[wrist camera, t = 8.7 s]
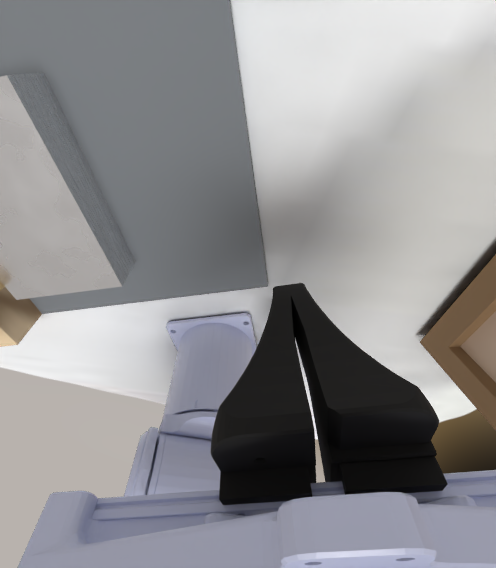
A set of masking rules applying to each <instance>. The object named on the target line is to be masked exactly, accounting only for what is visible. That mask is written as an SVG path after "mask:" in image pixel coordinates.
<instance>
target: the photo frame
mask: <svg viewBox="0 0 496 568" xmlns="http://www.w3.org/2000/svg"><path fill="white" fill-rule="evenodd" d="M420 343H421V344H422V345H423V347H424V348H425V349H426V350H427V351H428V352H429V354H430V355H431V356H432V357H433V358H434V359H435V360H436V362H437V363H438V364H439V365H440V366H441V367H442V369H443V370H444V371H445V372H446V373H447V374H448V376H449V377H450V378H451V379H452V380H453V381H454V383H455V384H456V385H457V386H458V387H459V388H460V390H461V391H462V392H463V393H464V394H465V395H466V397H467V398H468V399H469V400H470V401H471V402H472V404H473V405H474V406H475V407H476V408H477V409H478V411H479V412H480V413H481V414H482V415H483V416H484V417H485V418H486V420H487V421H488V422H489V423H490V424H491V426H492V427H493V428H494V429H495V430H496V254H495V256H494V257H493V258H492V259H491V260H490V261H489V263H488V264H487V265H486V266H485V267H484V268H483V270H482V271H481V272H480V273H479V274H478V275H477V276H476V278H475V279H474V280H473V281H472V282H471V283H470V285H469V286H468V287H467V288H466V289H465V290H464V291H463V293H462V294H461V295H460V296H459V297H458V298H457V300H456V301H455V302H454V303H453V304H452V305H451V307H450V308H449V309H448V310H447V311H446V312H445V313H444V315H443V316H442V317H441V318H440V319H439V320H438V322H437V323H436V324H435V325H434V326H433V327H432V328H431V330H430V331H429V332H428V333H427V334H426V335H425V337H424V338H423V339H422V340H421V341H420Z"/></svg>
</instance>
